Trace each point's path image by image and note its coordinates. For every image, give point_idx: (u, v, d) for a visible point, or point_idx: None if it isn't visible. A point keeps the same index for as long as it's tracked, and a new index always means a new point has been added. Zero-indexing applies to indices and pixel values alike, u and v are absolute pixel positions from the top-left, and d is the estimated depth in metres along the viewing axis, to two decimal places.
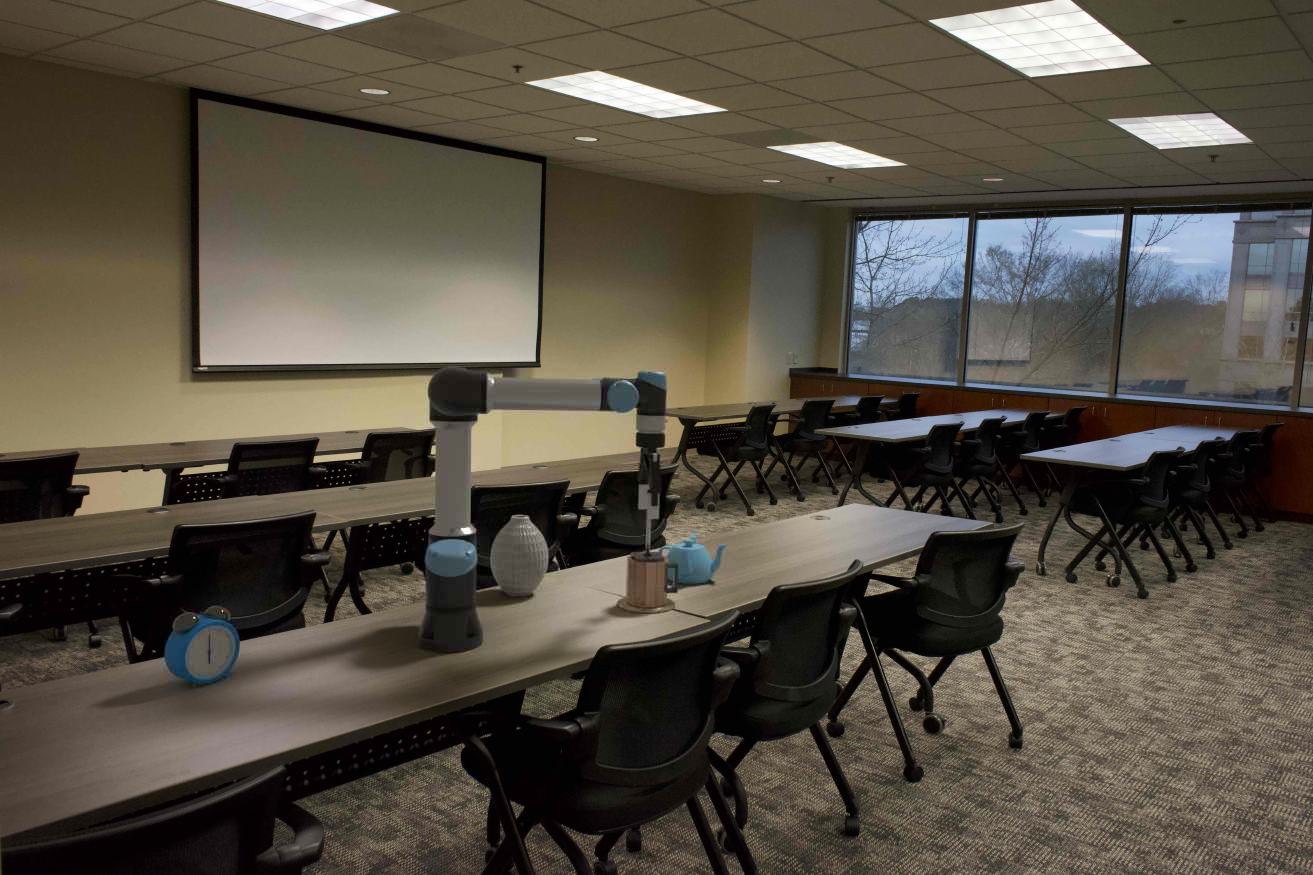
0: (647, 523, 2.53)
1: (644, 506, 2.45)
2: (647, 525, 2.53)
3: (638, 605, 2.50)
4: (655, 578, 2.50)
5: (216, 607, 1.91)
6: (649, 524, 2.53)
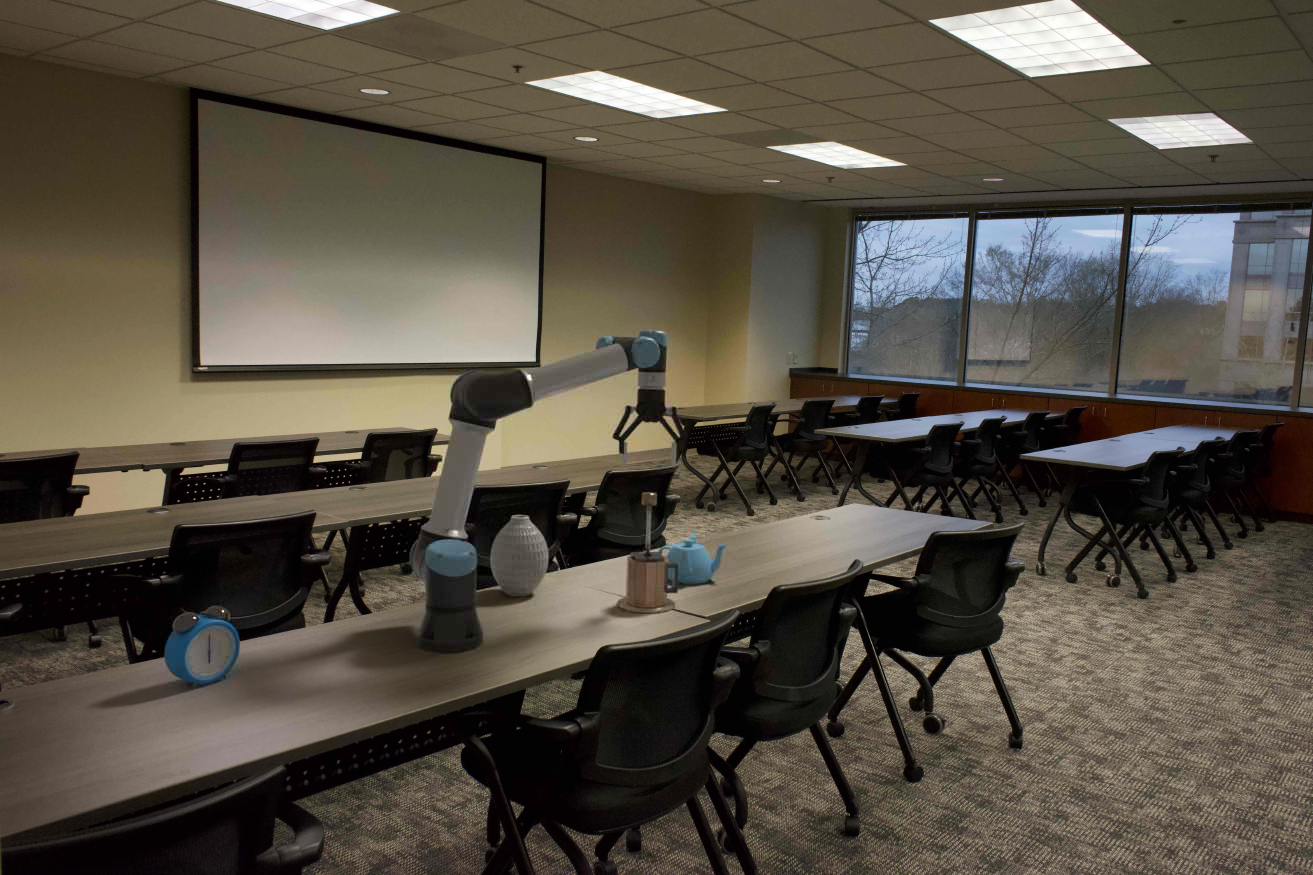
0: (647, 522, 2.53)
1: (672, 463, 2.54)
2: (647, 525, 2.53)
3: (638, 605, 2.50)
4: (655, 578, 2.50)
5: (216, 607, 1.91)
6: (649, 524, 2.53)
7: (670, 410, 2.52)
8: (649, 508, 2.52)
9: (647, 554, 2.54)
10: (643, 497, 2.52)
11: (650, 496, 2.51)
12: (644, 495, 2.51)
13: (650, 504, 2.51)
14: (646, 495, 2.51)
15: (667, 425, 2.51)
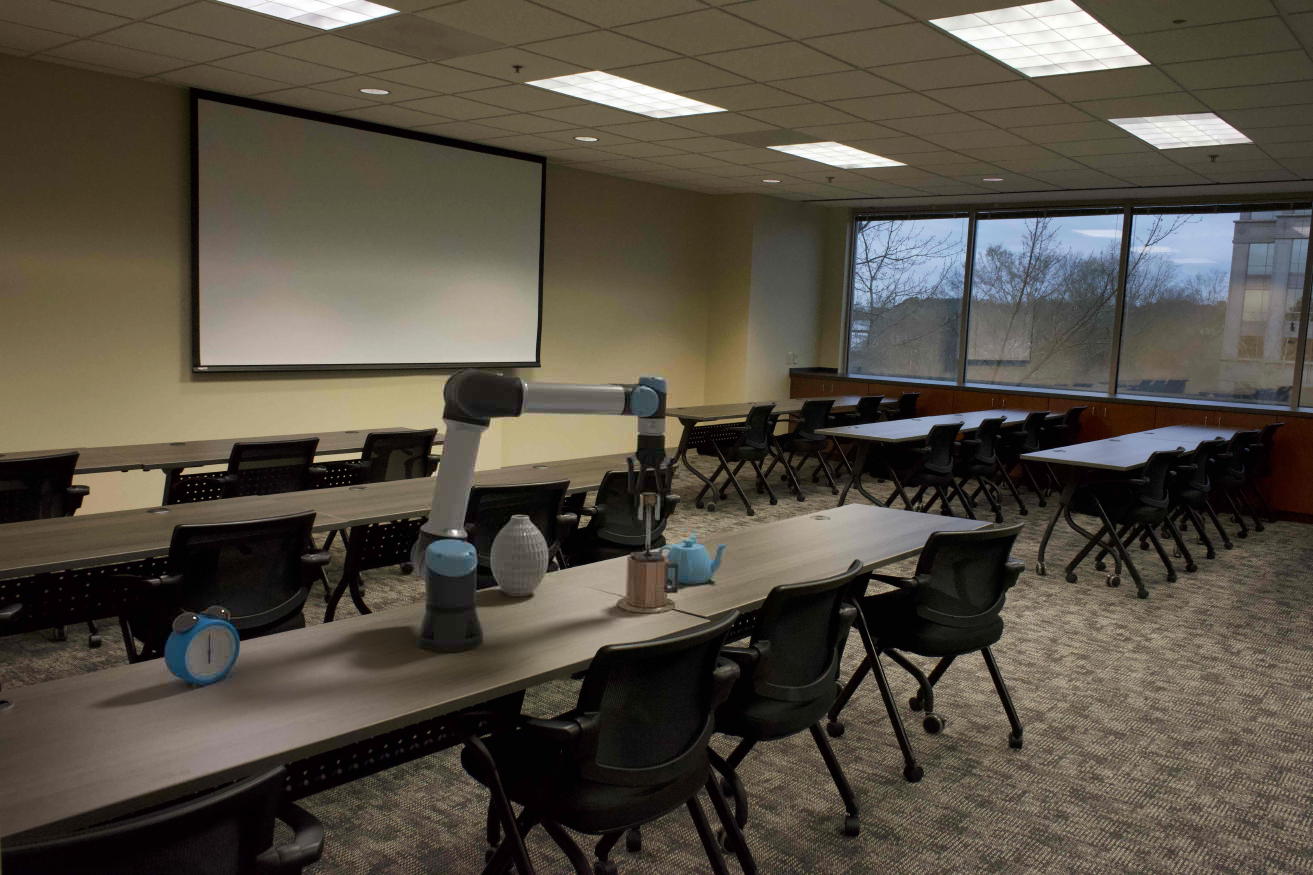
0: (647, 523, 2.53)
1: (656, 516, 2.53)
2: (647, 525, 2.53)
3: (638, 605, 2.50)
4: (655, 578, 2.50)
5: (216, 607, 1.91)
6: (649, 524, 2.53)
7: (668, 459, 2.52)
8: (649, 508, 2.52)
9: (647, 554, 2.54)
10: (643, 497, 2.52)
11: (650, 496, 2.51)
12: (644, 495, 2.51)
13: (650, 504, 2.51)
14: (646, 495, 2.51)
15: (659, 474, 2.51)
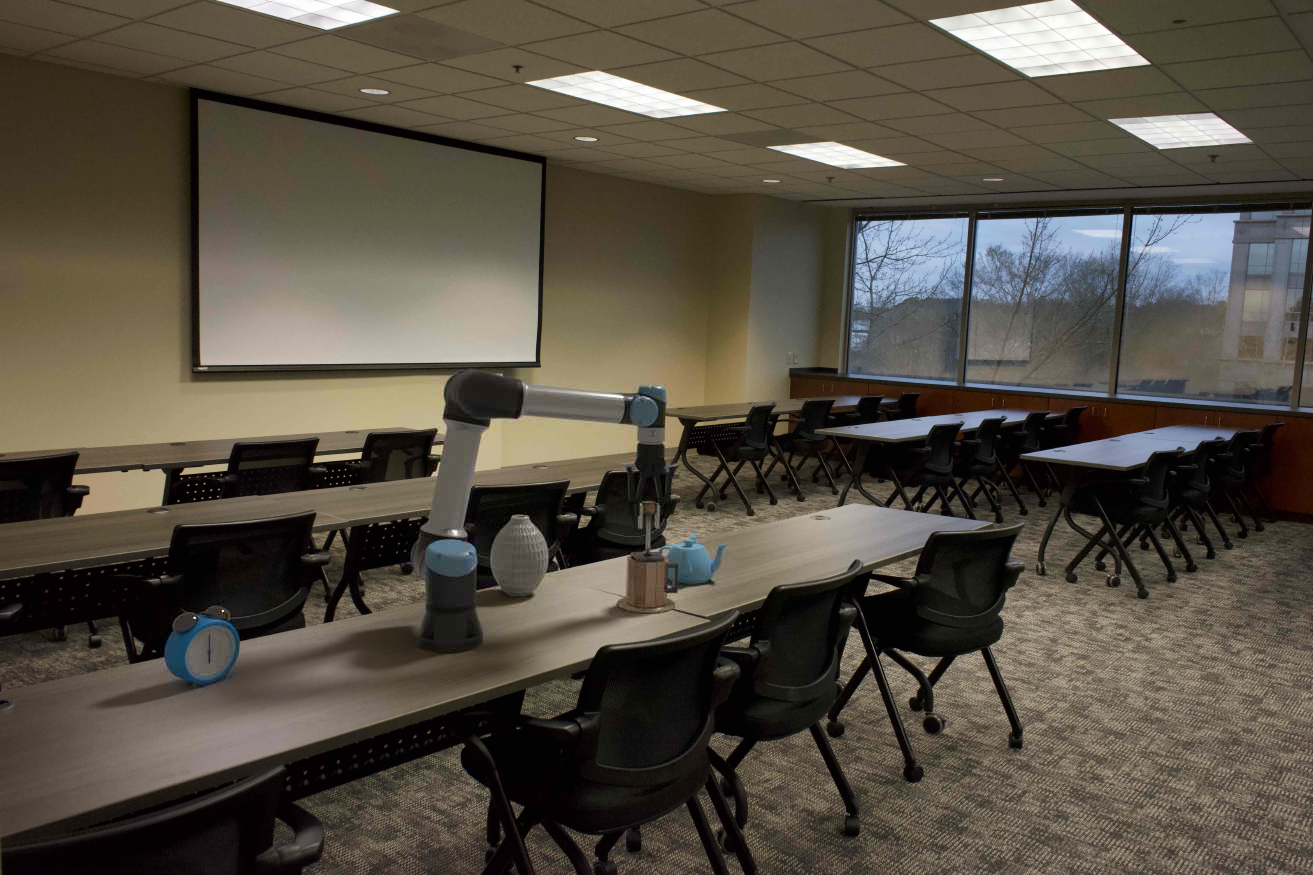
0: (647, 531, 2.53)
1: (655, 524, 2.54)
2: (647, 533, 2.53)
3: (638, 605, 2.50)
4: (655, 578, 2.50)
5: (216, 607, 1.91)
6: (649, 532, 2.53)
7: (668, 468, 2.52)
8: (649, 517, 2.53)
9: None
10: (643, 506, 2.52)
11: (650, 505, 2.51)
12: (644, 504, 2.51)
13: (650, 513, 2.51)
14: (646, 504, 2.51)
15: (659, 483, 2.52)
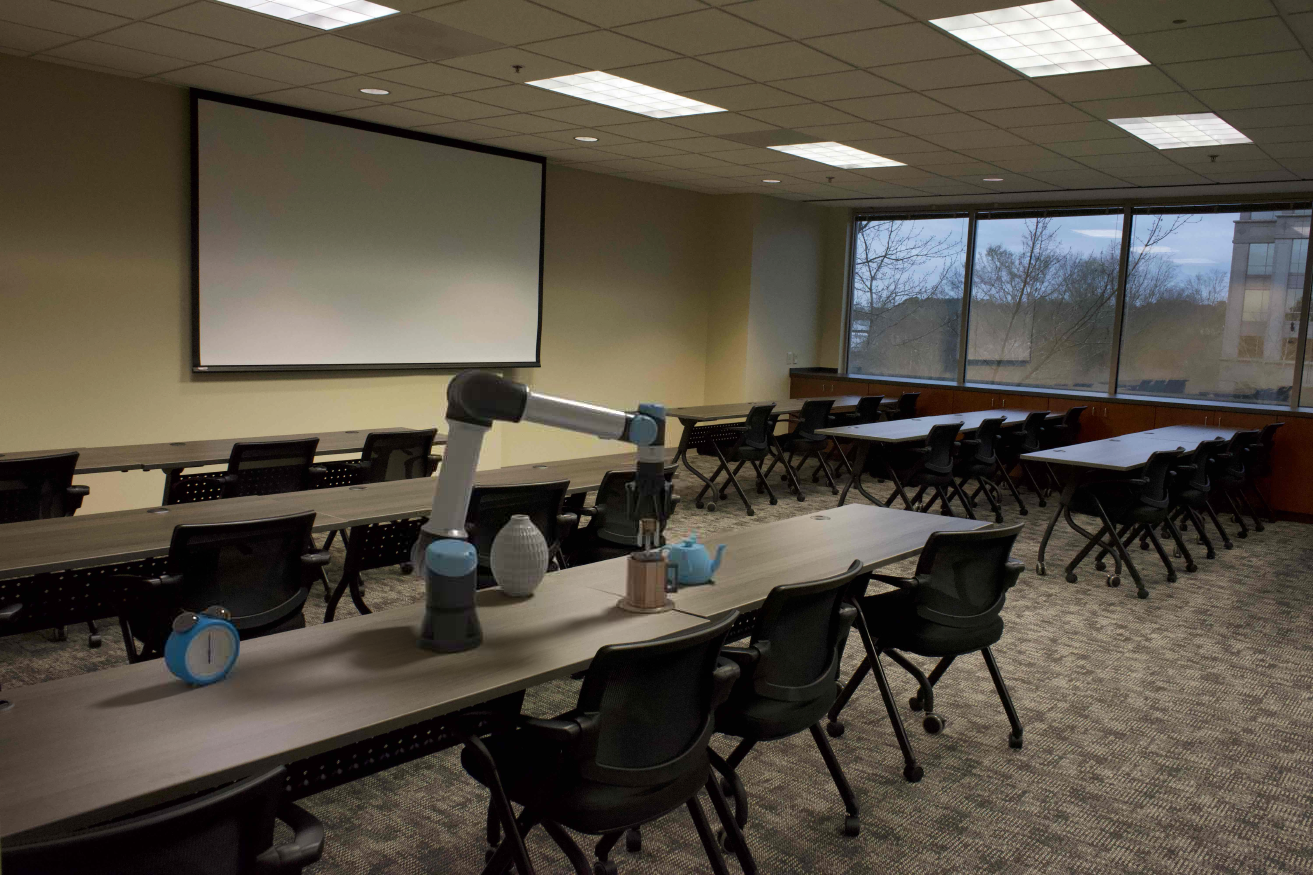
0: (647, 549, 2.54)
1: (655, 542, 2.54)
2: (646, 551, 2.54)
3: (638, 605, 2.50)
4: (655, 578, 2.50)
5: (216, 607, 1.91)
6: (648, 550, 2.54)
7: (668, 486, 2.53)
8: (648, 534, 2.53)
9: None
10: (642, 524, 2.52)
11: (649, 523, 2.51)
12: (643, 522, 2.52)
13: (649, 531, 2.52)
14: (645, 522, 2.52)
15: (658, 501, 2.52)
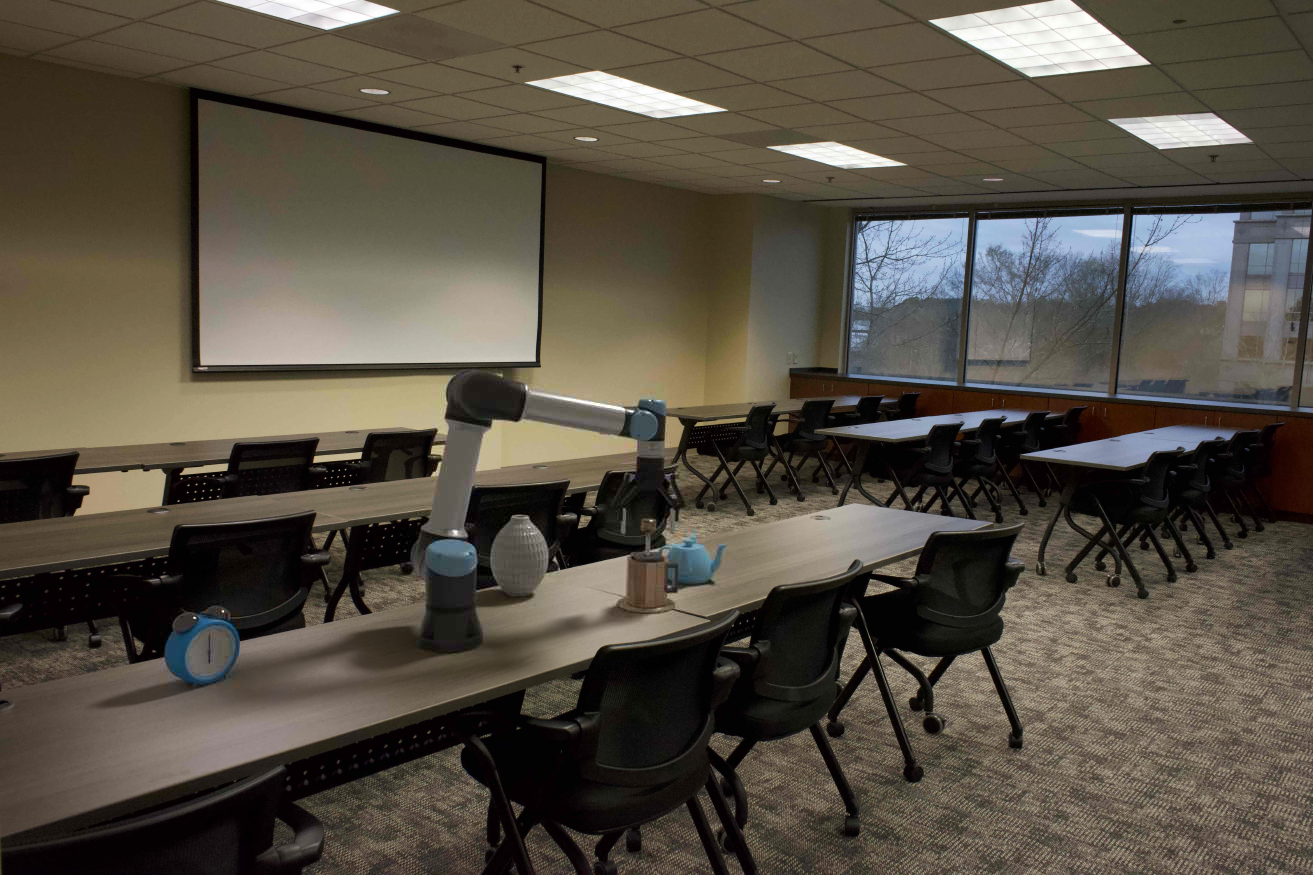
0: (647, 549, 2.54)
1: (670, 530, 2.54)
2: (646, 551, 2.54)
3: (638, 605, 2.50)
4: (655, 578, 2.50)
5: (216, 607, 1.91)
6: (648, 550, 2.54)
7: (669, 478, 2.53)
8: (648, 534, 2.53)
9: None
10: (642, 524, 2.52)
11: (649, 523, 2.51)
12: (643, 522, 2.52)
13: (649, 531, 2.52)
14: (645, 522, 2.52)
15: (666, 493, 2.52)
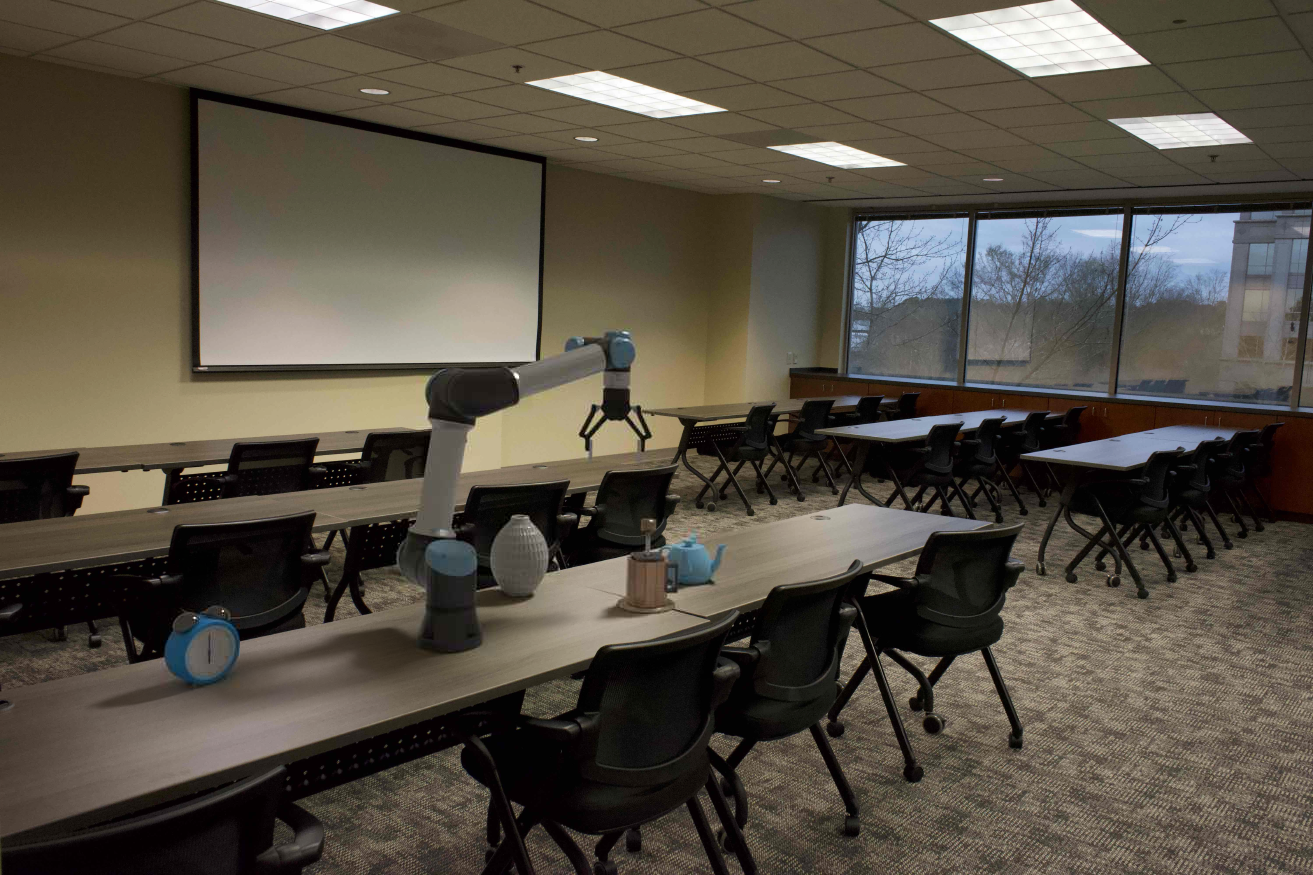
0: (647, 549, 2.54)
1: (637, 460, 2.60)
2: (646, 551, 2.54)
3: (638, 605, 2.50)
4: (655, 578, 2.50)
5: (216, 607, 1.91)
6: (648, 550, 2.54)
7: (635, 409, 2.58)
8: (648, 534, 2.53)
9: None
10: (642, 524, 2.52)
11: (649, 523, 2.51)
12: (643, 522, 2.52)
13: (649, 531, 2.52)
14: (645, 522, 2.52)
15: (632, 423, 2.58)
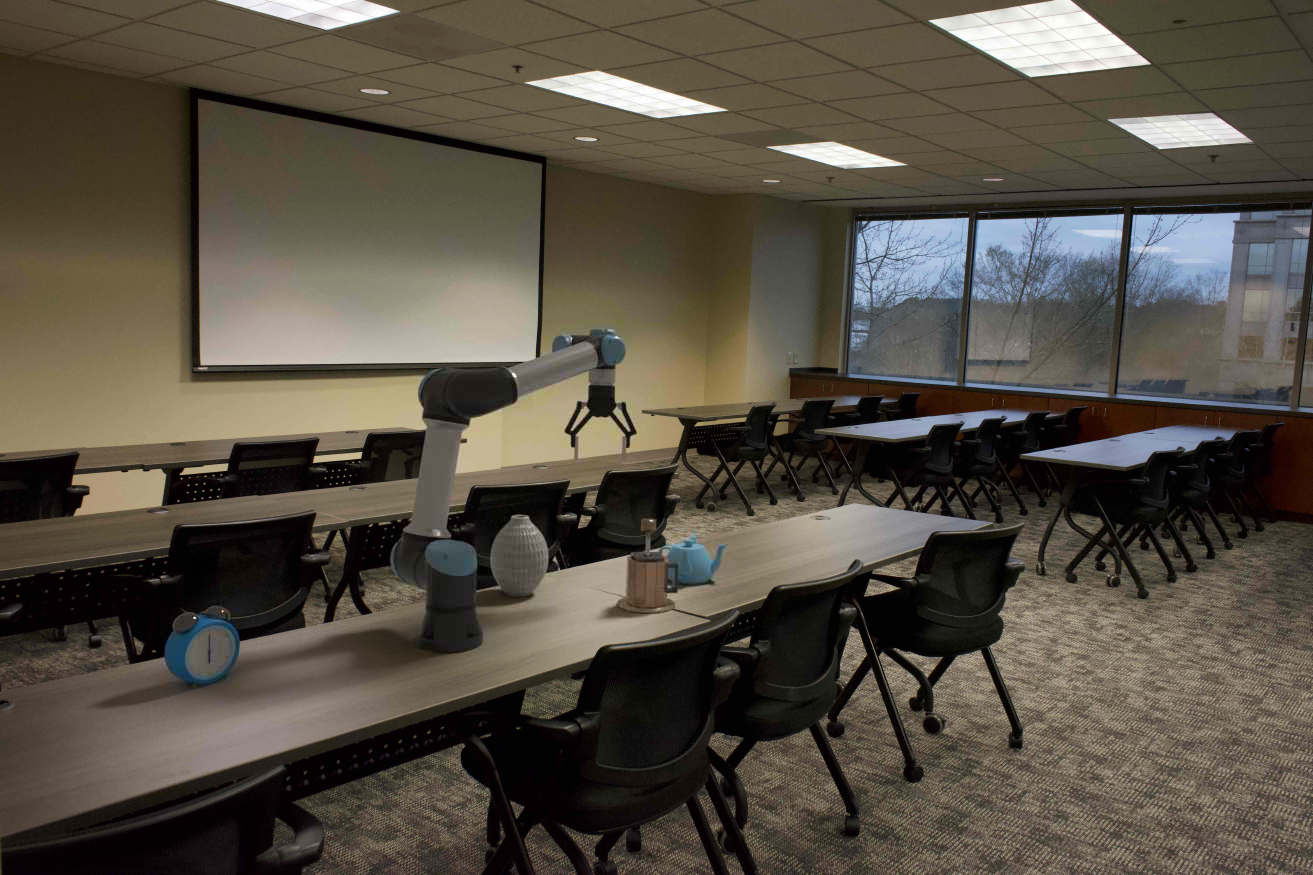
0: (647, 549, 2.54)
1: (622, 456, 2.63)
2: (646, 551, 2.54)
3: (638, 605, 2.50)
4: (655, 578, 2.50)
5: (216, 607, 1.91)
6: (648, 550, 2.54)
7: (620, 405, 2.61)
8: (648, 534, 2.53)
9: None
10: (642, 524, 2.52)
11: (649, 523, 2.51)
12: (643, 522, 2.52)
13: (649, 531, 2.52)
14: (645, 522, 2.52)
15: (617, 420, 2.61)
